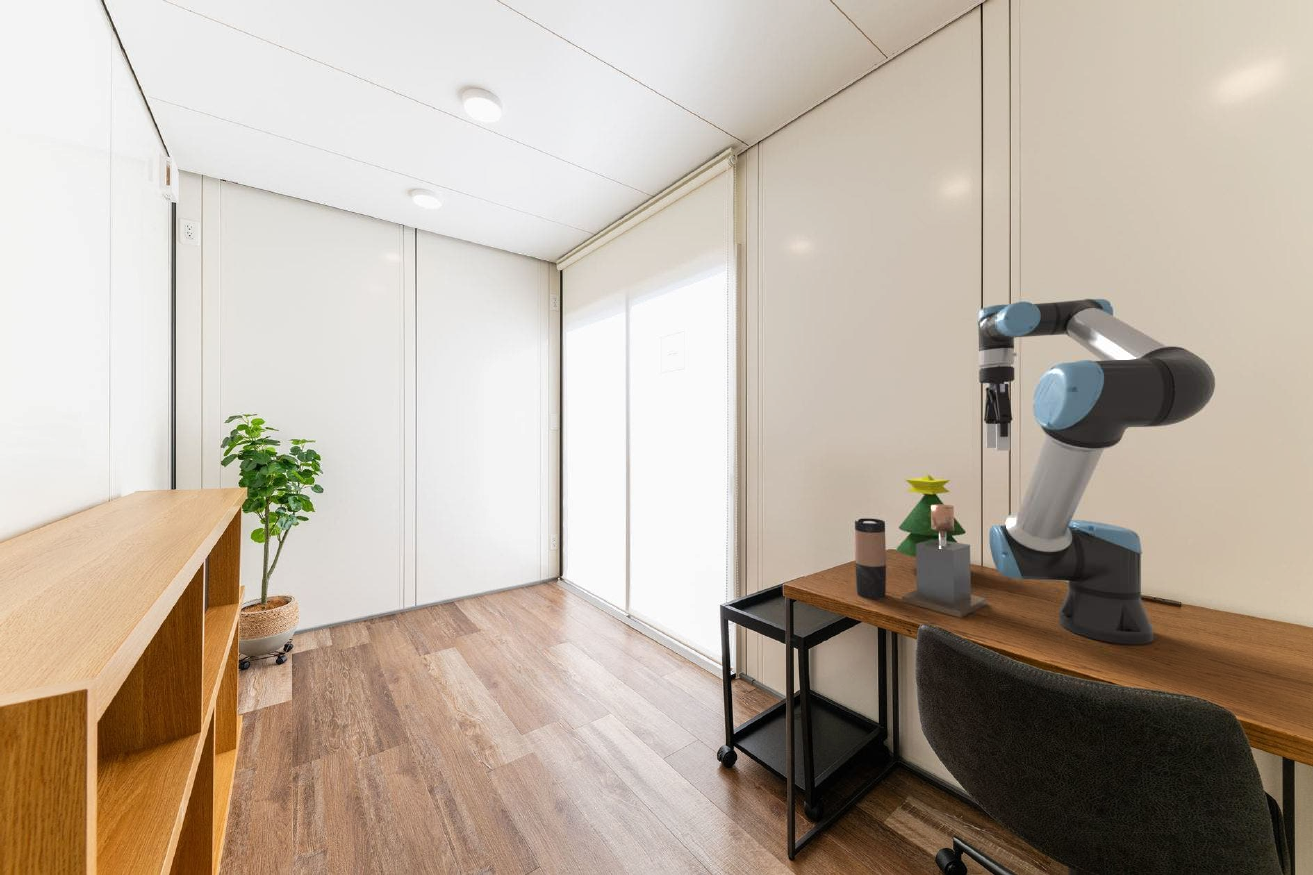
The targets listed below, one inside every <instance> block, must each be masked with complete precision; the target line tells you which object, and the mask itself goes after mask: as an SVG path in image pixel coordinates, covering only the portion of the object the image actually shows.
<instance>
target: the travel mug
mask: <svg viewBox="0 0 1313 875" xmlns="http://www.w3.org/2000/svg"><path fill="white" fill-rule="evenodd" d="M886 544H887V543H886V521H885V520H882V519H877V518H865V517H864V518H859V519H857V520H854V548H855V549H854V554H855V555H854V556H855V557H854V559H855V560H854V561H855V562H854V564H855V579H856V581H855V582H856V593H857V595H858V596H860V597H862V598H866V599H870V600H871V599H872V600H874V599H875V600H879V599H884V598H885V597H886V593H887V592H886V590H887V588H886V587H887V586H886V584H887V550H886V549H887V547H886Z"/></svg>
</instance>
